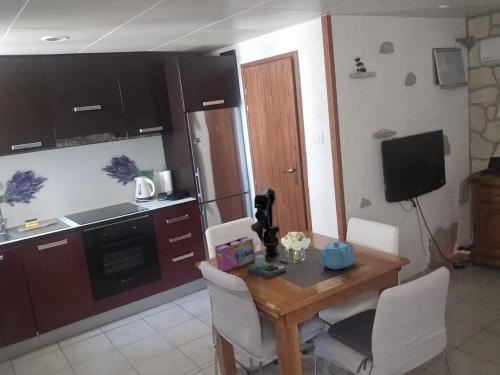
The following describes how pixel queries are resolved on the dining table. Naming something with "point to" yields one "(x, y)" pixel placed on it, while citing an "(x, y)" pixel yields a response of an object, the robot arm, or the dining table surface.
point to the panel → (267, 270)
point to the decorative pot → (337, 255)
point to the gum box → (235, 253)
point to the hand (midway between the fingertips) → (266, 242)
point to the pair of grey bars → (281, 261)
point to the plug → (260, 260)
